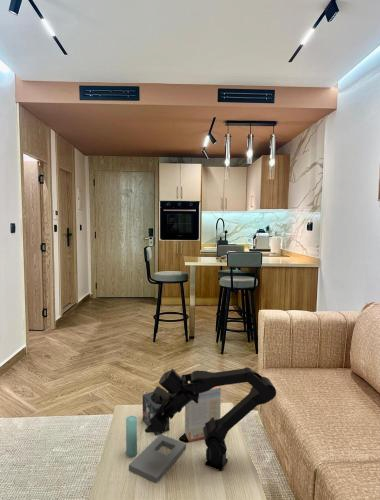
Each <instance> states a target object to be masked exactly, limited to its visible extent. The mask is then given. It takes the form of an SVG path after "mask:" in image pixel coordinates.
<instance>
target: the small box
mask: <svg viewBox="0 0 380 500" xmlns="http://www.w3.org/2000/svg"><path fill="white" fill-rule="evenodd" d="M153 392H154V390H153V391H150V392H147V393H144V394H142V421H143V422H144V424H145V425H146V427H148V426H149V424H150V418H151V417H152V415H153V414H154V413H155V412H157V411H158V409H159V408H160V404H156V403H154V402H152V400H151V396H152V394H153ZM161 405H162V404H161ZM167 421H168V427H167V429H166V431H165V432H164V433H166V432H168V431H170V418H169V417H168V418H167ZM152 433H153V434H154V435H155V436H159V435H160V433H159V432H152Z"/></svg>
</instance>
